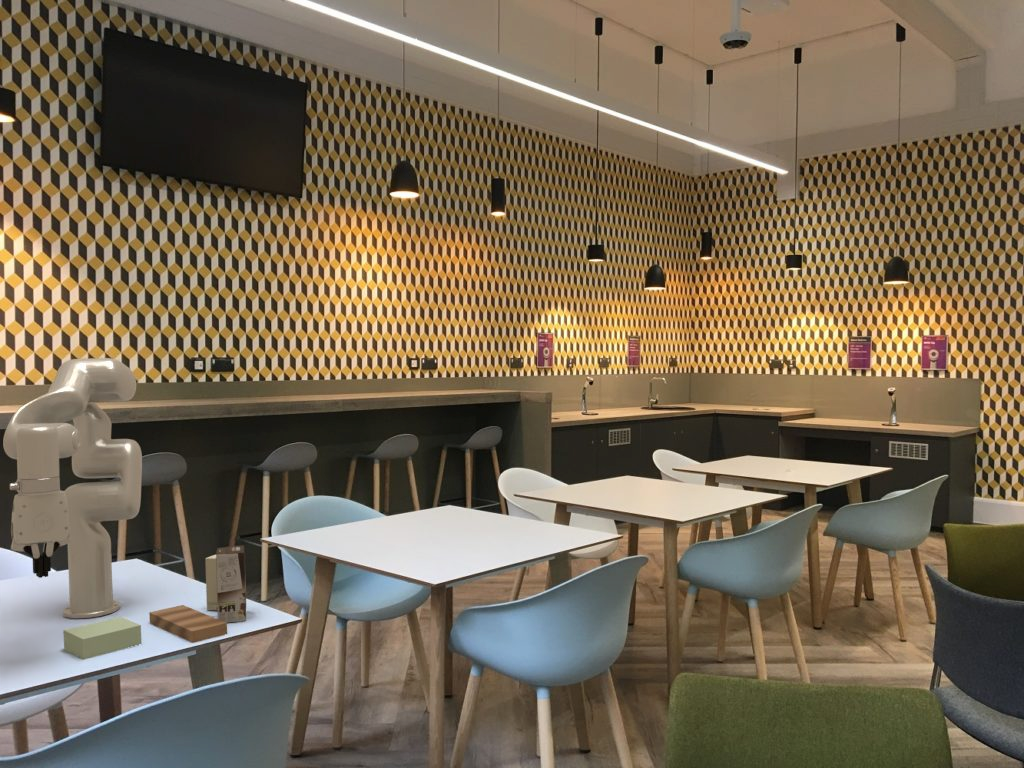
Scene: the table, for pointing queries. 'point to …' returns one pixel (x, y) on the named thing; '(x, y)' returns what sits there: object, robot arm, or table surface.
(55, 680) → the table surface
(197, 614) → the board
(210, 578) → the box
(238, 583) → the coffee box
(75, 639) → the slab
